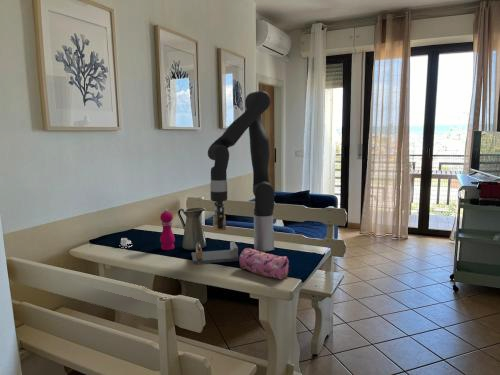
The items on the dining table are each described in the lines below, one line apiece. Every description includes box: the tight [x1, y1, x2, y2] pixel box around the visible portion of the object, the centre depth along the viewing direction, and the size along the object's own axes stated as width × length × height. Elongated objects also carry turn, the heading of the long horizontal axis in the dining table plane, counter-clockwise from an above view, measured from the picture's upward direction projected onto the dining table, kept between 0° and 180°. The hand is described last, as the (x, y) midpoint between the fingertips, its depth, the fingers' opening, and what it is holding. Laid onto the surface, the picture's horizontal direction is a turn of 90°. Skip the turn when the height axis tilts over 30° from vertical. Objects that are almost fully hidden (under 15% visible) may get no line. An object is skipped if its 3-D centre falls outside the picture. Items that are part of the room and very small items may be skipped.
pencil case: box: [238, 247, 291, 280], centre depth 149 cm, size 21×9×9 cm, turn 53°
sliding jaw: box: [195, 241, 203, 259], centre depth 166 cm, size 2×10×5 cm, turn 12°
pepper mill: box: [159, 208, 176, 251], centre depth 181 cm, size 7×7×20 cm
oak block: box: [212, 214, 227, 231], centre depth 166 cm, size 5×5×6 cm
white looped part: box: [120, 237, 133, 249], centre depth 188 cm, size 9×8×4 cm
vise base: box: [191, 241, 240, 265], centre depth 168 cm, size 20×12×6 cm, turn 102°
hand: (219, 226), depth 166 cm, fingers closed on oak block, 5 cm apart
